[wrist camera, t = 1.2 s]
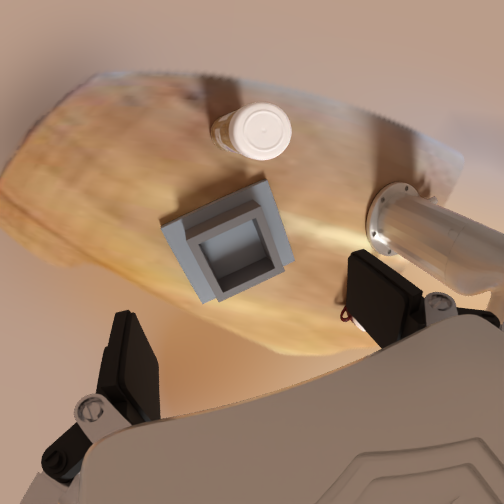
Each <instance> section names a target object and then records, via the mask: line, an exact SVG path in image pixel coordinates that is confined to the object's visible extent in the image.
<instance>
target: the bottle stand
mask: <svg viewBox="0 0 504 504" xmlns="http://www.w3.org/2000/svg"><path fill="white" fill-rule="evenodd" d="M161 230H162V232H163V234H164V236H165V238H166V240H167V242H168V243H169V245H170V247H171V249H172V251H173V253H174V255H175V256H176V258H177V260H178V262H179V264H180V265H181V267H182V269H183V271H184V273H185V274H186V276H187V278H188V280H189V281H190V283H191V285H192V287H193V288H194V290H195V292H196V294H197V295H198V297H199V299H200V300H201V302H202V304H204V303H206V302H208V301H210V300H213V299H215V298H217V300H218V302H221V301H223V300H225V299H227V298H229V297H232V296H234V295H236V294H238V293H240V292H242V291H244V290H247V289H249V288H251V287H253V286H255V285H257V284H259V283H261V282H263V281H266V280H268V279H270V278H272V277H274V276H276V275H278V274H280V273H282V272H284V271H285V270H284V267H283V266H285V265H287V264H289V263H291V262H293V261H295V259H294V256H293V253H292V250H291V247H290V244H289V241H288V238H287V235H286V232H285V229H284V226H283V224H282V221H281V218H280V215H279V212H278V209H277V206H276V203H275V200H274V198H273V195H272V192H271V189H270V186H269V184H268V181H267V180H266V179H264V180H261V181H259V182H256V183H254V184H252V185H249V186H247V187H245V188H242V189H240V190H238V191H236V192H233V193H231V194H229V195H226V196H224V197H222V198H220V199H217V200H215V201H213V202H211V203H209V204H207V205H204V206H202V207H200V208H198V209H196V210H194V211H191V212H189V213H187V214H185V215H183V216H181V217H179V218H177V219H175V220H173V221H171V222H169V223H167V224H164V225H162V226H161Z"/></svg>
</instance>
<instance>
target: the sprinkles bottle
mask: <svg viewBox="0 0 504 504" xmlns="http://www.w3.org/2000/svg"><path fill="white" fill-rule="evenodd" d="M211 138H212V141H213V143H214V144H215V145H216V146H217V147H218V148H219V149H221V150H224V151H230V152H235V153H239V154H242V155H244V156H246V157H248V158H252V159H256V160H268V159H272V158H275V157H276V156H278V155H280V154H281V153H282V152H283V151H284V150H285V149H286V147H287V146H288V144H289V142H290V139H291V124H290V120H289V118H288V116H287V115H286V113H285V112H284V111H283V110H282V109H281V108H280V107H278V106H277V105H275V104H272V103H269V102H254V103H250V104H248V105H245V106H243V107H241V108H240V109H239V110H236V111H233V112H231V113H229V114H227V115H224V116H221V117H220V118H218V119H217V120H216V121H215V122H214V124H213V125H212V127H211Z"/></svg>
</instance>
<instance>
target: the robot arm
mask: <svg viewBox="0 0 504 504" xmlns="http://www.w3.org/2000/svg"><path fill="white" fill-rule="evenodd" d="M437 202H438V200H437V198H436V197H435V196H433V197H431V198H429V199H428V200H427V199H425V198H422V197H420V196H419V194H418V192H417V191H416V189H415V188H414V187H413V186H411V185H409V184H407V183H404V182H394V183H391V184H389V185H387V186H386V187H384V188H383V189H382V190H381V191H380V192H379V193H378V194H377V196H376V197H375V199H374V200H373V202H372V204H371V206H370V209H369V212H368V216H367V222H366V231H367V237H368V240H369V243H370V245H371V246H372V248H373V249H374V250H375V251H377V252H378V253H380V254H382V255H384V256H393V255H396V254H399V255H401V256H402V257H404V258H405V259H407V260H409V261H410V262H412V263H413V264H415V265H416V266H418V267H419V268H421V269H422V270H424V271H425V272H427V273H428V274H430V275H431V276H433V277H434V278H436V279H437V280H439V281H440V282H442V283H443V284H445V285H446V286H448V287H449V288H450V289H452V290H453V291H455V292H456V293H458V294H461V295H464V296H473V295H477V294H481V293H484V292H487V291H491V298H490V301H489V303H488V306H487V308H486V311H484V310H475V309H465V308H458V307H456V303H455V301H454V299H453V298H452V297H450V296H449V295H447V294H445V293H441V292H433V293H430V294H428V295H427V296H426V297H425V298H424V297H422V293H423V291H422V290H420V289H419V288H418V287H416V286H415V285H414V284H412V283H411V282H409V281H408V280H407V279H406V278H404V277H403V276H402V275H400V274H399V273H397V272H396V271H395V270H393V269H392V268H390V267H389V266H388V265H386V264H385V263H383V262H382V261H380V260H379V259H378V258H376V257H375V256H373V255H372V254H370V253H369V252H367V251H366V250H364V249H362V250H358V251H355V252H352V253H351V256H349V258H348V279H347V301H346V307H347V310H348V312H349V313H350V314H351V315H352V316H353V317H354V319H355V320H356V321H357V322H358V323H359V324H360V325H361V326H362V327H363V328H364V329H365V331H366V332H367V333H368V334H369V335H370V336H371V337H372V338H373V339H374V341H375V342H376V343H377V344H378V345H379V346H380V347H381V348H382V349H381V350H378V351H376V352H374V353H372V354H370V355H368V356H365V357H363V358H361V359H359V360H356V361H354V362H352V363H350V364H347V365H345V366H342V367H340V368H337V369H335V370H332V371H330V372H327V373H325V374H322V375H320V376H317V377H314V378H312V379H309V380H306V381H303V382H301V383H298V384H295V385H292V386H289V387H286V388H283V389H280V390H277V391H274V392H270V393H267V394H264V395H261V396H257V397H254V398H250V399H247V400H243V401H240V402H236V403H232V404H228V405H224V406H220V407H216V408H211V409H207V410H203V411H199V412H194V413H189V414H184V415H180V416H175V417H169V418H164V419H161V418H160V400H159V399H160V398H159V366H158V361H157V358H156V356H155V355H154V353H153V350H152V348H151V346H150V344H149V342H148V341H147V338H146V336H145V334H144V332H143V330H142V328H141V325H140V323H139V321H138V319H137V316H136V314H135V313H131V312H130V311H129V310H126V311H122V312H117V313H116V314H115V317H114V321H113V325H112V330H111V334H110V338H109V343H108V346H107V347H105V349H104V353H103V357H102V362H101V368H100V372H99V378H98V384H97V389H96V394H90V395H87V396H85V397H83V398H82V399H81V400H80V401H79V402H78V403H77V405H76V406H75V409H74V417H75V420H76V421H77V422H76V423H75V424H74V425H73V426H72V427H71V428H70V429H69V430H67V431H66V432H65V433H64V434H63V435H62V436H61V437H59V438H58V439H57V440H56V441H55V442H54V443H53V444H52V445H51V446H49V447H48V448H47V449H46V450H45V452H44V454H43V456H42V461H41V464H42V468H43V472H42V473H39V472H38V473H37V475H36V477H35V478H34V480H33V482H32V483H31V485H30V487H29V489H28V490H27V492H26V494H25V495H24V497H23V499H22V501H21V503H20V504H504V234H503V233H501V232H498V231H496V230H494V229H491V228H489V227H487V226H485V225H483V224H481V223H479V222H476V221H474V220H472V219H469V218H467V217H465V216H462V215H460V214H458V213H455V212H453V211H451V210H448V209H446V208H444V207H441V206H439V205H436V204H437Z"/></svg>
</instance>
